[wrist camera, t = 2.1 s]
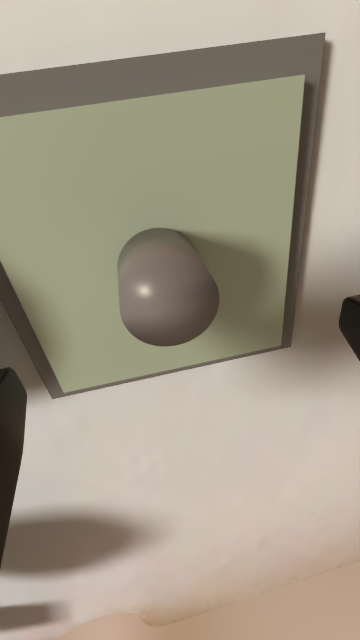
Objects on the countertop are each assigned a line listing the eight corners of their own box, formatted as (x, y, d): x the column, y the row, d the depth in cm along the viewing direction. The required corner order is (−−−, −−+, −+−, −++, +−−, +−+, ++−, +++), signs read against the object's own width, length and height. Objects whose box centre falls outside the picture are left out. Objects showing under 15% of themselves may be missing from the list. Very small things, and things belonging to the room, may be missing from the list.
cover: (292, 76, 10) (370, 62, 7) (274, 336, 17) (312, 388, 14) (-53, 125, 9) (-132, 132, 6) (65, 381, 16) (55, 447, 13)
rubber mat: (315, 36, 10) (325, 32, 10) (285, 340, 18) (290, 346, 17) (-97, 90, 9) (-109, 88, 9) (54, 390, 17) (52, 399, 16)
